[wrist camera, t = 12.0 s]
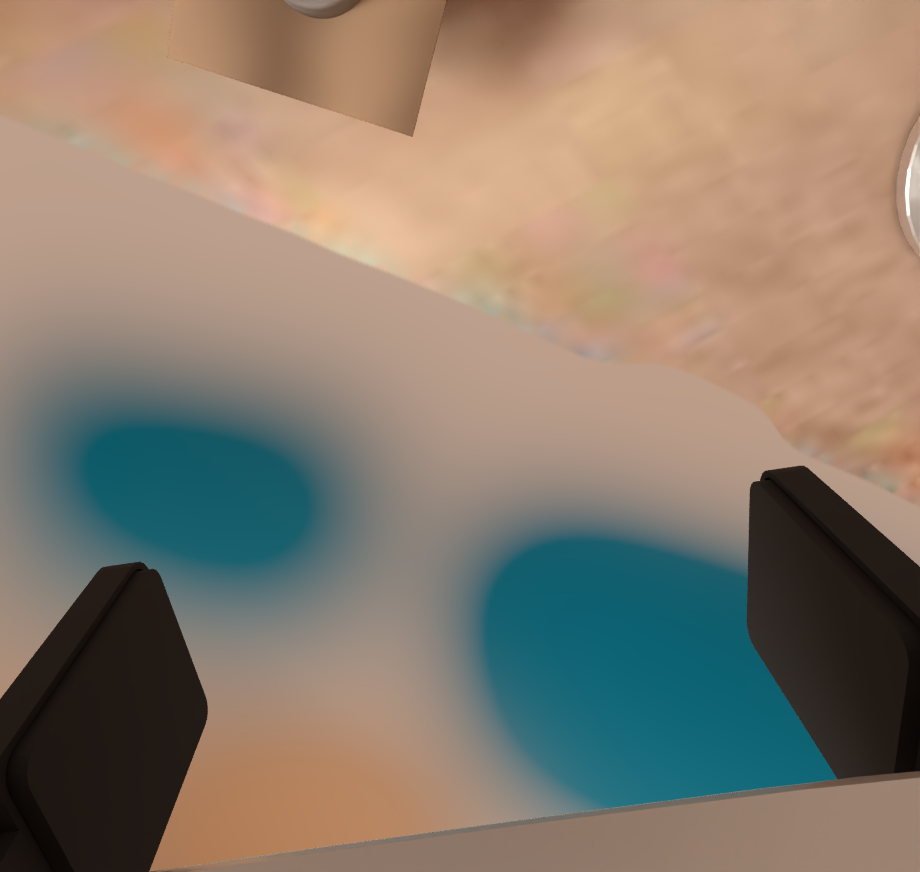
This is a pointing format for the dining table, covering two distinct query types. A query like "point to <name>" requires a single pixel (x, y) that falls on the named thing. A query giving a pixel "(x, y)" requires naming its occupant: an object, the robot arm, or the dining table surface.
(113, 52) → the dining table surface
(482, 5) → the dining table surface
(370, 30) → the lid
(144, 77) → the dining table surface
